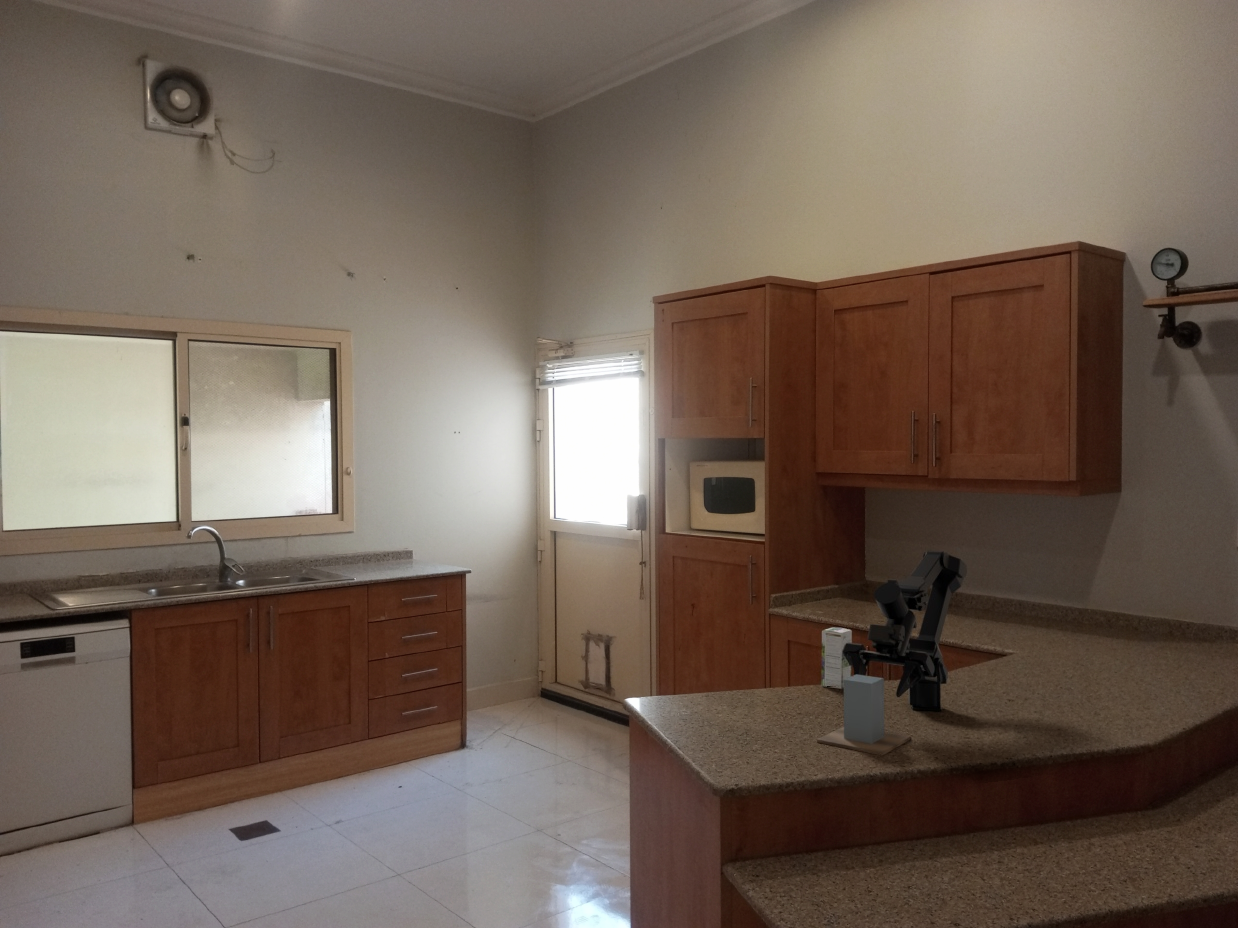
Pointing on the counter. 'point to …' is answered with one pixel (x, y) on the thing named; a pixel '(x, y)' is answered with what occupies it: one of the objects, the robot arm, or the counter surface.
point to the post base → (878, 747)
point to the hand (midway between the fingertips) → (876, 692)
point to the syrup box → (835, 657)
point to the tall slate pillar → (864, 708)
